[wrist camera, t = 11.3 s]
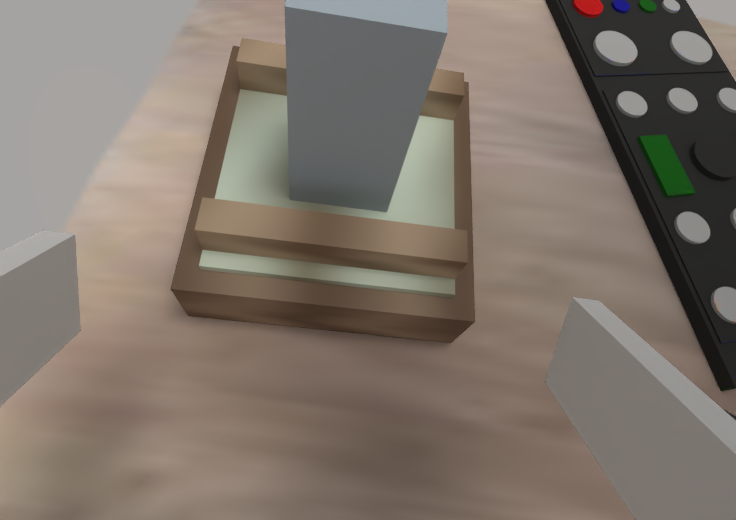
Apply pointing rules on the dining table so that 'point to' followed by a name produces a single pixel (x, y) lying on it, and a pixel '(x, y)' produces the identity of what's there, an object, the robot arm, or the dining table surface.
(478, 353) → the dining table surface
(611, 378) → the robot arm
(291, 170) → the slate block
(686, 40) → the remote control
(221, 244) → the wooden tray
